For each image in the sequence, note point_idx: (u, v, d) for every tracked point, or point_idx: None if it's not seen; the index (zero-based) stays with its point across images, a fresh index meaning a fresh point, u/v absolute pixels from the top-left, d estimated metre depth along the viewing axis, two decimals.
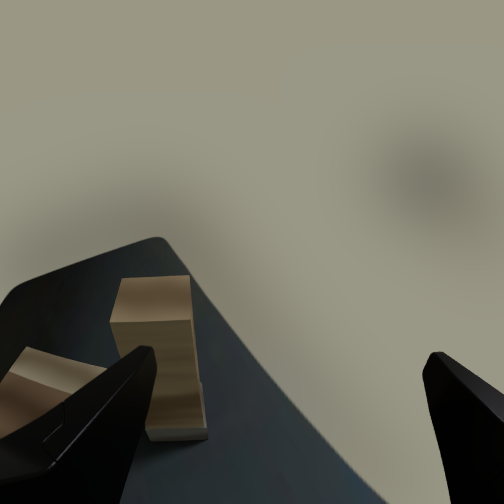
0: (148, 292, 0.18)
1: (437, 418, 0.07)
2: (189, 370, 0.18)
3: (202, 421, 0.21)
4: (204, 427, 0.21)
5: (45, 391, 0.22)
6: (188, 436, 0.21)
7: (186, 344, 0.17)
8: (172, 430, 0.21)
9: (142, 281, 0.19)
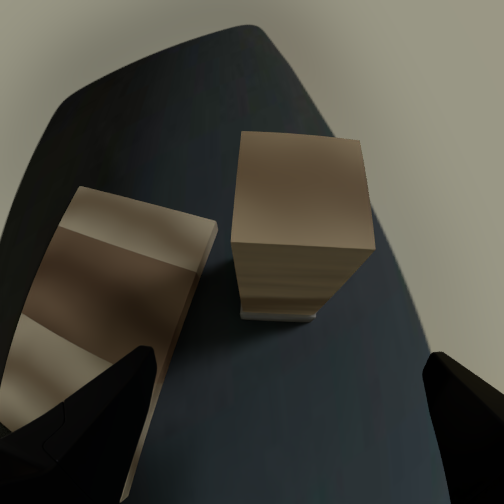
0: (295, 170, 0.10)
1: (437, 418, 0.07)
2: (332, 285, 0.13)
3: (314, 312, 0.19)
4: (313, 316, 0.20)
5: (107, 252, 0.22)
6: (289, 319, 0.21)
7: (348, 268, 0.11)
8: (274, 316, 0.20)
9: (281, 142, 0.11)
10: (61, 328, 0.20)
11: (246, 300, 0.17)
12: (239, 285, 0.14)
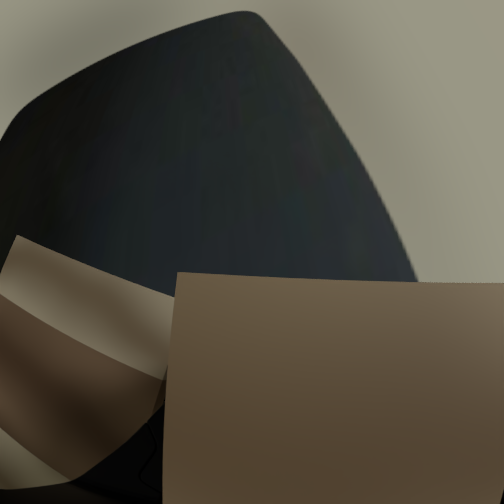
0: (354, 440, 0.03)
1: None
2: None
3: None
4: None
5: (47, 337, 0.14)
6: None
7: None
8: None
9: (313, 321, 0.03)
10: (8, 425, 0.12)
11: None
12: None
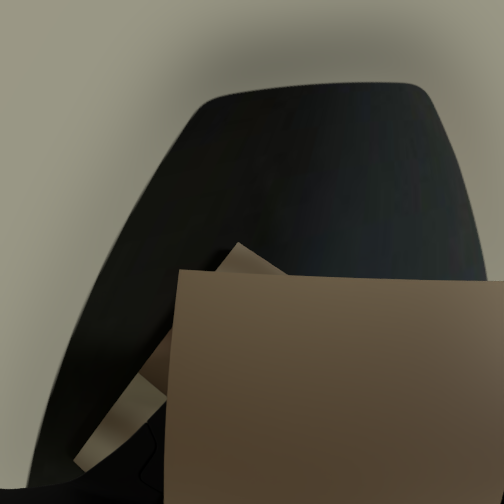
0: (355, 437, 0.03)
1: None
2: None
3: None
4: None
5: None
6: None
7: None
8: None
9: (314, 318, 0.03)
10: None
11: None
12: None
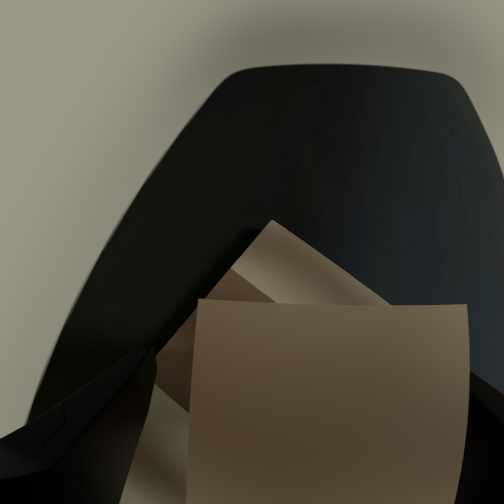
0: (328, 423, 0.04)
1: None
2: None
3: None
4: None
5: None
6: None
7: None
8: None
9: (298, 335, 0.04)
10: None
11: None
12: None
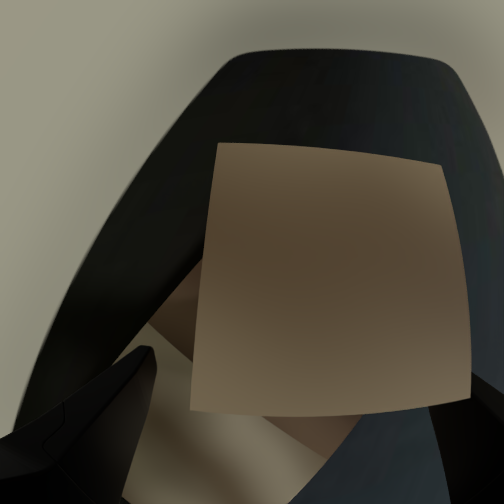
0: (331, 235, 0.05)
1: (437, 418, 0.07)
2: None
3: None
4: None
5: None
6: None
7: None
8: None
9: (299, 165, 0.05)
10: None
11: None
12: None
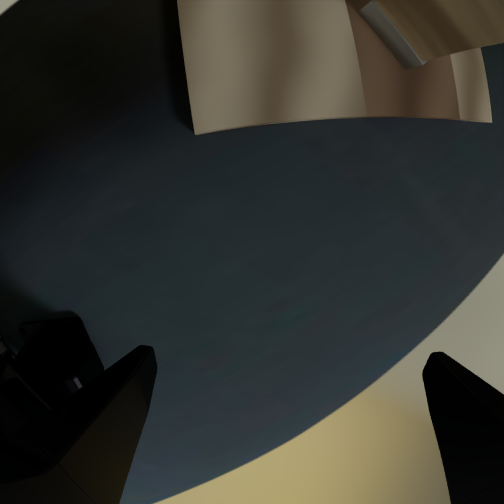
0: None
1: (437, 418, 0.07)
2: (501, 33, 0.07)
3: (429, 58, 0.13)
4: (421, 62, 0.14)
5: None
6: (396, 48, 0.14)
7: None
8: (393, 29, 0.13)
9: None
10: None
11: None
12: None
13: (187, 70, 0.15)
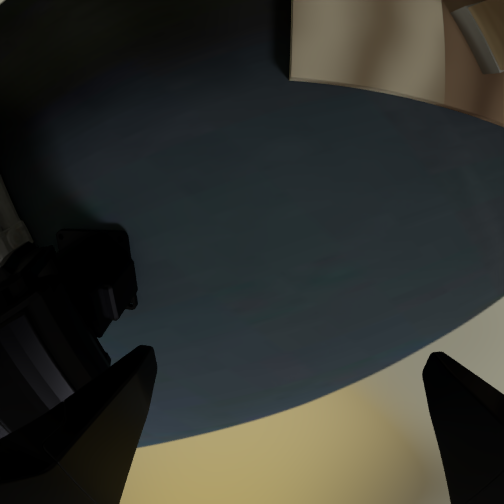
0: None
1: (437, 418, 0.07)
2: None
3: None
4: (499, 70, 0.12)
5: None
6: (479, 53, 0.13)
7: None
8: (480, 35, 0.12)
9: None
10: None
11: (500, 1, 0.08)
12: None
13: (294, 20, 0.14)
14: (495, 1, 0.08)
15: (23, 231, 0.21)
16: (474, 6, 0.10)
